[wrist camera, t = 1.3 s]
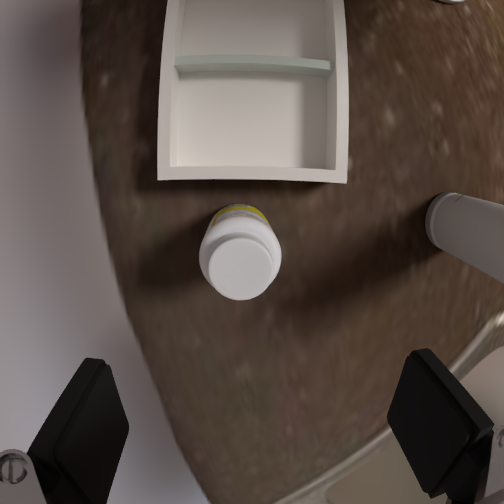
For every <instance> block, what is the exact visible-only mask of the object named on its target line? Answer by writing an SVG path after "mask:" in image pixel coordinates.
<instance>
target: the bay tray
mask: <svg viewBox="0 0 504 504" xmlns="http://www.w3.org/2000/svg"><path fill="white" fill-rule="evenodd" d="M348 126H349V95H348V58H347V38H346V23H345V11H344V0H168V2H167V10H166V18H165V27H164V36H163V46H162V58H161V71H160V87H159V108H158V151H157V170H158V180H182V179H262V180H294V181H316V182H333V183H347V164H348Z"/></svg>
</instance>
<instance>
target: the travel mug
mask: <svg viewBox="0 0 504 504" xmlns="http://www.w3.org/2000/svg"><path fill="white" fill-rule="evenodd" d="M425 227H426V233H427V236H428V238H429V240H430V241H431V243H432V244H433V245H435V246H436V247H438V248H440V249H442V250H444V251H446V252H448V253H450V254H451V255H453V256H455V257H457V258H459V259H461V260H463V261H465V262H466V263H468V264H470V265H472V266H474V267H475V268H477V269H479V270H481V271H483V272H484V273H486V274H488V275H490V276H491V277H493V278H495V279H497V280H498V281H500V282H502V283H504V205H501V204H497V203H493V202H490V201H486V200H482V199H478V198H474V197H469V196H465V195H461V194H457V193H452V192H444V193H441V194H440V195H438V196H437V197H436V198H435V199H434V200H433V201H432V202H431V204H430V206H429V208H428V210H427V213H426V219H425Z"/></svg>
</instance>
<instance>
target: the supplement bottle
mask: <svg viewBox="0 0 504 504" xmlns="http://www.w3.org/2000/svg"><path fill="white" fill-rule="evenodd" d="M199 262H200V267H201V270H202V273H203V275H204V276H205V278H206V279H207V281H208V282H209V283H210V284H211V285H212V286H213V287H214V288H215V289H216V290H217V291H218V292H219V293H220V294H222V295H223V296H225V297H227V298H230V299H234V300H248V299H251V298H254V297H256V296H258V295H260V294H261V293H262V292H263V291H264V290H265V289H266V288H267V287H268V286H269V284H270V283H271V282H272V281H273V280H274V278H275V277H276V275H277V273H278V271H279V268H280V264H281V249H280V245H279V242H278V240H277V238H276V236H275V234H274V232H273V230H272V228H271V226H270V225H269V223H268V221H267V219H266V217H265V216H264V215H263V214H262V213H261V212H260V211H259V210H258V209H257V208H255V207H253V206H251V205H248V204H243V203H236V204H231V205H228V206H226V207H223V208H222V209H221V210H219V211H218V212H217V213H216V214H215V215H214V217H213V218H212V220H211V222H210V224H209V226H208V229H207V231H206V233H205V236H204V238H203V240H202V243H201V246H200V252H199Z"/></svg>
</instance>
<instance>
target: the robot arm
mask: <svg viewBox="0 0 504 504" xmlns="http://www.w3.org/2000/svg"><path fill="white" fill-rule="evenodd" d="M439 1H442V2H445V3H450V4H458V3H461V2H463V1H465V0H439ZM387 420H388V423H389V425H390V427H391V429H392V431H393V433H394V435H395V437H396V438H397V440H398V442H399V444H400V446H401V448H402V450H403V452H404V454H405V456H406V458H407V460H408V462H409V464H410V466H411V468H412V470H413V472H414V474H415V476H416V478H417V480H418V482H419V484H420V486H421V488H422V490H423V491H424V492H425V493H428V494H429V496H430V498H431V499H432V498H434V497H436V496H439V495H441V494H443V493H445V492H446V494H447V496H448V498H447V501H446V504H504V425H502V426H500V427H499V428H497V429H496V430H495V432H494V431H493V430H492V428H493V426H494V423H493V422H492V421H491V419H490V418H489V417H488V416H487V414H486V413H485V412H484V411H483V409H482V408H481V407H480V406H479V405H478V403H477V402H476V401H475V400H474V399H473V398H472V396H471V395H470V394H469V393H468V392H467V391H466V389H465V388H464V387H463V386H462V385H461V383H460V382H459V381H458V380H457V379H456V378H455V377H454V375H453V374H452V373H451V372H450V371H449V370H448V369H447V368H446V366H445V365H444V364H443V363H442V362H441V361H440V360H439V359H438V358H437V356H436V355H435V354H434V353H433V352H432V351H431V350H430V349H428V348H425V349H420V350H414V351H412V352H411V353H410V356H408V357H407V358H406V360H405V364H404V367H403V370H402V373H401V376H400V379H399V382H398V385H397V388H396V391H395V394H394V397H393V400H392V403H391V405H390V408H389V411H388V414H387ZM128 432H129V423H128V420H127V417H126V415H125V412H124V409H123V406H122V403H121V400H120V397H119V394H118V390H117V387H116V384H115V381H114V377H113V374H112V370H111V367H110V366H109V365H107V364H106V363H105V361H104V360H102V359H93V358H85V359H84V361H83V362H82V364H81V365H80V367H79V368H78V370H77V371H76V373H75V374H74V376H73V377H72V379H71V380H70V382H69V383H68V385H67V387H66V388H65V390H64V391H63V393H62V394H61V396H60V397H59V399H58V401H57V402H56V404H55V406H54V407H53V409H52V410H51V412H50V414H49V415H48V417H47V419H46V420H45V422H44V424H43V425H42V427H41V429H40V430H39V432H38V434H37V435H36V437H35V439H34V441H33V442H32V444H31V446H30V448H29V450H28V452H27V453H24V452H22V451H20V450H16V449H9V450H5V451H3V452H1V453H0V504H106V503H107V500H108V496H109V492H110V489H111V486H112V483H113V480H114V476H115V473H116V470H117V467H118V463H119V460H120V457H121V453H122V451H123V448H124V445H125V441H126V438H127V435H128Z"/></svg>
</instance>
